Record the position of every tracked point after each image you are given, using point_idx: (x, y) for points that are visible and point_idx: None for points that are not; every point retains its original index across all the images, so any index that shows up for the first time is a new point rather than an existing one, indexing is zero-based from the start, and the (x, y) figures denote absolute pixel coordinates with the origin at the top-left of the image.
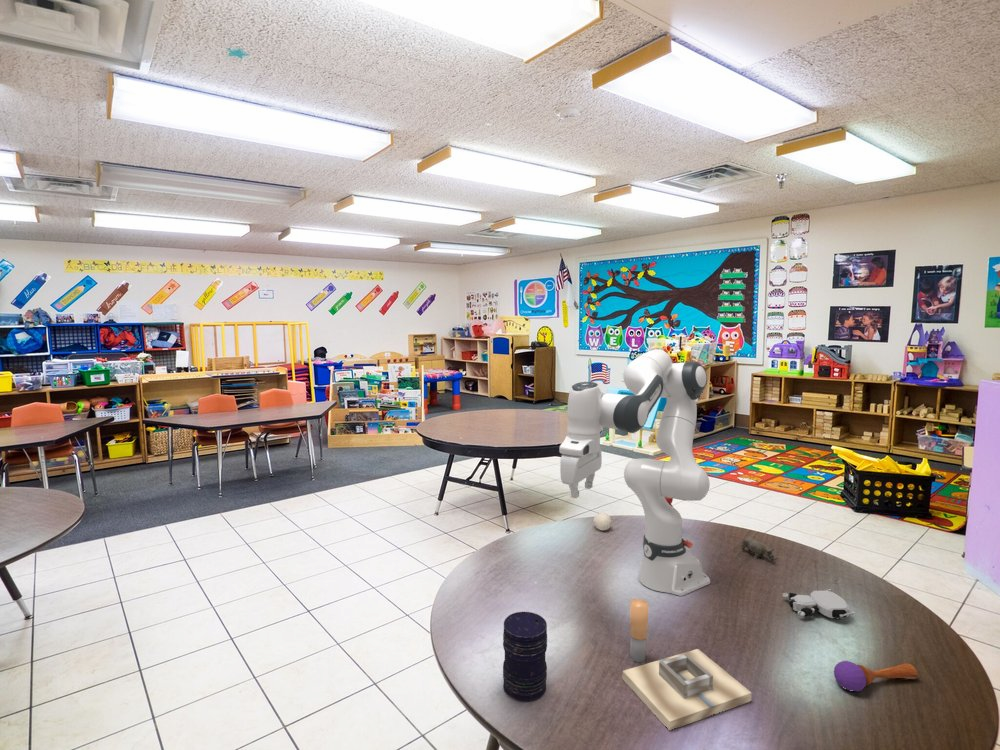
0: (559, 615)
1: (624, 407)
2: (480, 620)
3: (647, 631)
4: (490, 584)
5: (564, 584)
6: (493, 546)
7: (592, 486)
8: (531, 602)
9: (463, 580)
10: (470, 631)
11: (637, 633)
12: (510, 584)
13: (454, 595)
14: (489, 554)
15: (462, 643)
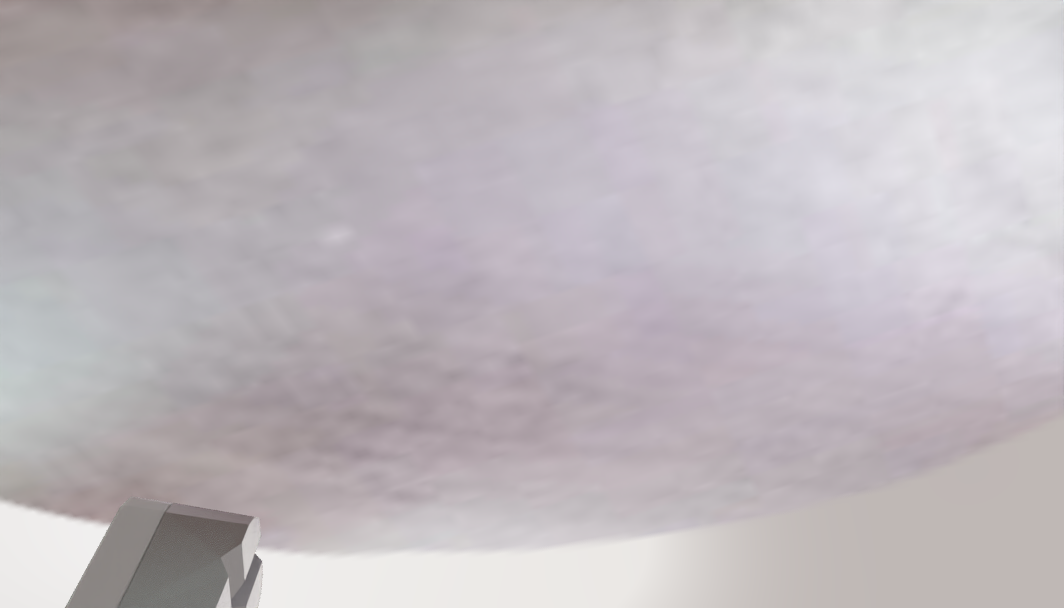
0: (626, 5)
1: None
2: (817, 352)
3: None
4: (481, 417)
5: (262, 77)
6: None
7: (123, 508)
8: (557, 192)
9: (507, 520)
10: (920, 358)
11: None
12: (431, 339)
13: (650, 507)
14: None
15: (1023, 355)
